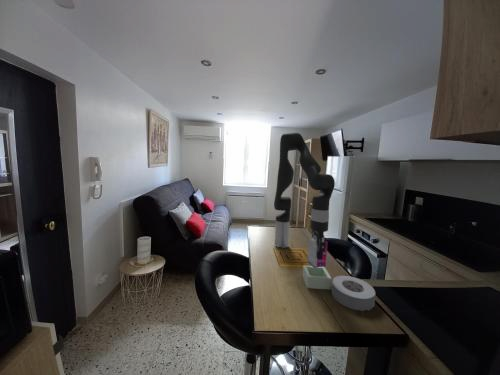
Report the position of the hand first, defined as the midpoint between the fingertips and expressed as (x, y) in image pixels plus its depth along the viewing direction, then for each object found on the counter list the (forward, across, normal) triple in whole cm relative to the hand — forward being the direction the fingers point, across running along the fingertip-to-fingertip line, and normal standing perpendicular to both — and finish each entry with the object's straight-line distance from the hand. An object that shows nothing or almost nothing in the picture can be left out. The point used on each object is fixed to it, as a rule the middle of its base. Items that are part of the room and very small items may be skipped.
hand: (317, 255), depth 86 cm
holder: (+13, 0, 0) cm, 13 cm away
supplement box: (+4, 0, 0) cm, 4 cm away
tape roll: (+13, +9, +12) cm, 20 cm away
